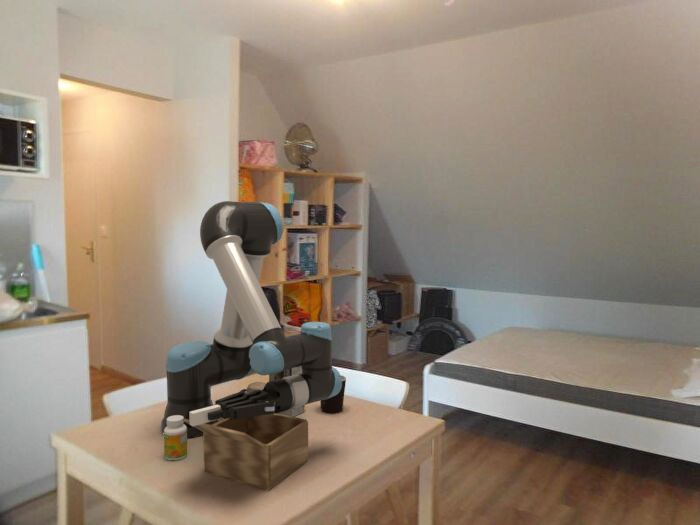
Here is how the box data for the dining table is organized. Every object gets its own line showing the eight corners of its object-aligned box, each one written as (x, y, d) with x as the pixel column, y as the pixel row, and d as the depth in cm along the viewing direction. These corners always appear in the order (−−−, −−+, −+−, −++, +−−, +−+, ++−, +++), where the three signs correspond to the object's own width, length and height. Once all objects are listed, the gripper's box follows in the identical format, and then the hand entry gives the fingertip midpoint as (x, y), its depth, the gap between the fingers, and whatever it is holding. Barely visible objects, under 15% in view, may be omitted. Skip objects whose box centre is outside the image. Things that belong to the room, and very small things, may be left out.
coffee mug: (342, 416, 157) (342, 383, 157) (314, 414, 159) (314, 381, 158) (350, 403, 169) (350, 372, 168) (324, 401, 171) (324, 370, 170)
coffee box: (305, 411, 161) (305, 359, 160) (292, 418, 156) (291, 364, 155) (282, 405, 166) (281, 355, 165) (268, 412, 161) (268, 359, 160)
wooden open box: (202, 471, 123) (201, 429, 122) (247, 444, 137) (247, 407, 137) (270, 491, 114) (269, 446, 113) (310, 460, 129) (310, 420, 128)
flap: (204, 429, 121) (203, 431, 121) (183, 418, 115) (182, 420, 115) (264, 444, 113) (263, 446, 113) (245, 433, 107) (244, 435, 107)
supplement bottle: (159, 459, 129) (158, 420, 128) (174, 450, 134) (173, 412, 133) (177, 462, 127) (176, 423, 126) (192, 453, 132) (191, 415, 132)
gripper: (301, 417, 121) (206, 446, 105) (269, 402, 131) (178, 427, 115) (301, 384, 120) (205, 409, 105) (269, 372, 130) (177, 393, 114)
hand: (191, 419), depth 110 cm, fingers closed
